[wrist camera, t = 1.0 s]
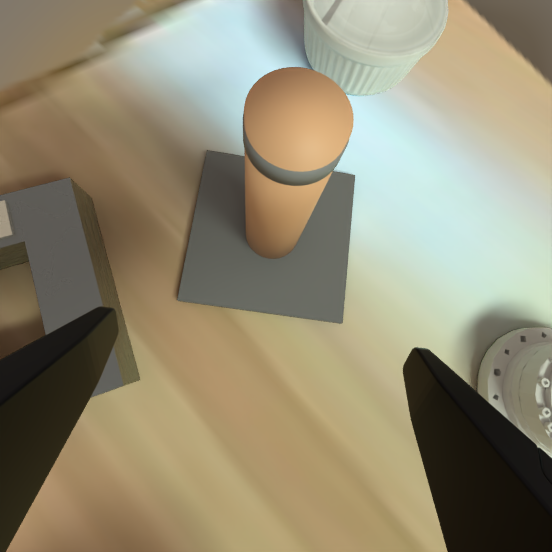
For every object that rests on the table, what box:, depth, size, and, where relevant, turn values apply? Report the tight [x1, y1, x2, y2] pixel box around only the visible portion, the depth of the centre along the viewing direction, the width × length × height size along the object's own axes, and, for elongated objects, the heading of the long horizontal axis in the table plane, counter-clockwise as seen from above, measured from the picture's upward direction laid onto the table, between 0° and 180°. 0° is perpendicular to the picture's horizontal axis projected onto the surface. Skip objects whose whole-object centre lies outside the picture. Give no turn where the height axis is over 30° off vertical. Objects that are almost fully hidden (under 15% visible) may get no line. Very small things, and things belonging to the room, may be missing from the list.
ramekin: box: [303, 0, 448, 96], centre depth 27 cm, size 11×11×5 cm
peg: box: [243, 67, 353, 259], centre depth 18 cm, size 4×4×13 cm
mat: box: [177, 150, 355, 324], centre depth 24 cm, size 12×12×1 cm
